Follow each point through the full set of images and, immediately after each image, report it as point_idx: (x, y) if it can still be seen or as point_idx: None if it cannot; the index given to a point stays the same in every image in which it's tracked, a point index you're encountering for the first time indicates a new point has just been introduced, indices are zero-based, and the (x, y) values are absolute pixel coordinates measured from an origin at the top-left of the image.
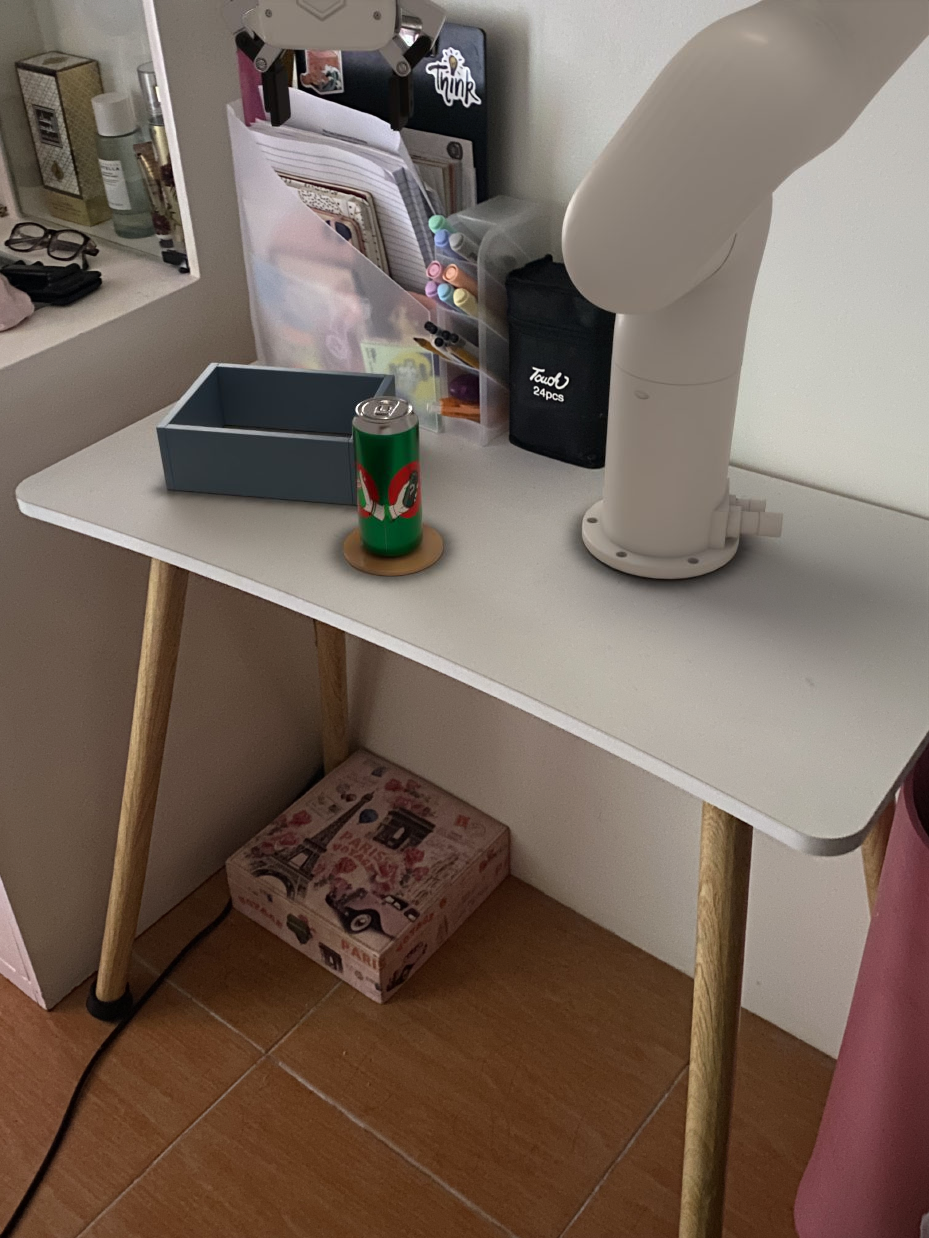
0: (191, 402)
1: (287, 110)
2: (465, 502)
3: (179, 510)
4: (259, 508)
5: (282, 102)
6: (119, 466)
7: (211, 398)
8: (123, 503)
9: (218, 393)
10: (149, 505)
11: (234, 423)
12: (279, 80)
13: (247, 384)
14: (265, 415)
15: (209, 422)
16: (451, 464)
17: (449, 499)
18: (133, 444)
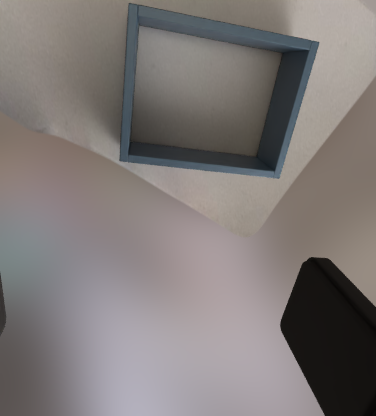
0: (290, 108)
1: (294, 323)
2: (41, 21)
3: (279, 8)
4: (216, 11)
5: (319, 319)
6: (327, 87)
7: (272, 146)
8: (321, 22)
9: (267, 161)
10: (302, 18)
11: (249, 156)
12: (361, 366)
13: (246, 164)
14: (227, 155)
15: (269, 132)
16: (69, 95)
17: (57, 28)
18: (318, 123)
